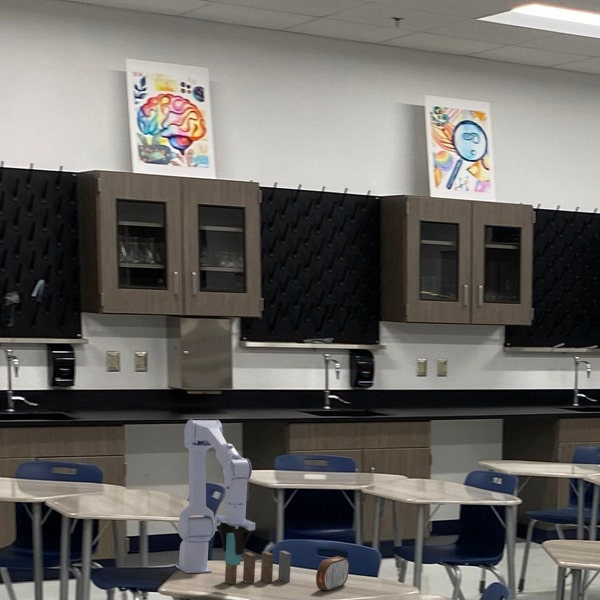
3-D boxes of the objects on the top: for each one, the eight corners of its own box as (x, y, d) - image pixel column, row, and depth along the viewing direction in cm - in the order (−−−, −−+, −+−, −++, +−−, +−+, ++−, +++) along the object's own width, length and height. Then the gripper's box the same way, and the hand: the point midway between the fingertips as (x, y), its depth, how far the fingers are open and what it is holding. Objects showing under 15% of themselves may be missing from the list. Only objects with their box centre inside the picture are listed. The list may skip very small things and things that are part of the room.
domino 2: (248, 584, 326) (250, 555, 326) (242, 580, 330) (244, 552, 330) (254, 583, 326) (255, 555, 327) (248, 580, 330) (249, 552, 331)
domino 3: (266, 583, 328) (268, 554, 328) (260, 579, 332) (262, 551, 332) (272, 582, 329) (273, 554, 329) (265, 579, 333) (267, 551, 333)
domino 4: (284, 582, 330) (286, 554, 331) (278, 578, 334) (279, 551, 335) (289, 582, 331) (291, 553, 331) (283, 578, 335) (284, 550, 335)
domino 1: (230, 585, 323) (232, 556, 324) (224, 581, 327) (226, 553, 328) (236, 584, 324) (237, 556, 324) (230, 581, 328) (231, 552, 328)
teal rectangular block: (229, 561, 321) (230, 532, 321) (240, 564, 317) (241, 535, 318) (225, 562, 319) (226, 533, 320) (235, 565, 316) (237, 535, 317)
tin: (340, 583, 333) (341, 553, 334) (350, 584, 332) (351, 555, 332) (314, 591, 320) (315, 561, 321) (324, 593, 319) (325, 562, 319)
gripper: (207, 500, 321) (204, 549, 321) (242, 507, 311) (240, 559, 311) (226, 498, 326) (223, 547, 326) (262, 506, 316) (259, 556, 316)
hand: (233, 552), depth 319 cm, fingers closed on teal rectangular block, 4 cm apart
